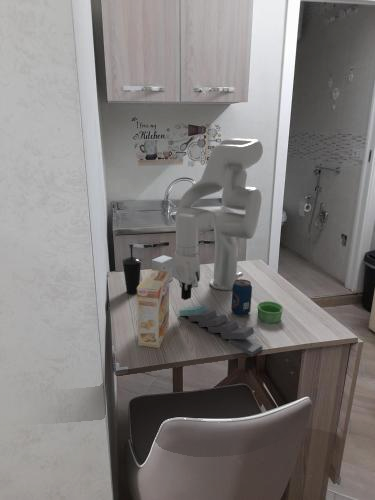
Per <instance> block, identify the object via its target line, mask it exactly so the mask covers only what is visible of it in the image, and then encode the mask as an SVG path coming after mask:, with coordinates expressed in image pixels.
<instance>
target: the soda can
mask: <svg viewBox="0 0 375 500" xmlns="http://www.w3.org/2000/svg"><path fill="white" fill-rule="evenodd" d="M252 291H253V286H252V284H251V281H249V280H247V279H242V278H241V279H239V278H238V279H237V280H236V281H235V282H234V284H233V288H232V290H231V303H230V304H231V305H230V306H231V307H230V309H231V312H232V314H233V315H235V316H236V317H247V316H248V315H249V314H250V313H251V309H252V308H251V307H252V297H253V296H252V295H253V292H252Z"/></svg>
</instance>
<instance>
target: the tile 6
mask: <svg viewBox="0 0 375 500" xmlns="http://www.w3.org/2000/svg"><path fill="white" fill-rule="evenodd" d="M228 345H230V346H232V347H234V348H236V349H237V350H240V351H241V352H243V353H245V354H247V355H249V356H250V357H252V356H255V355H256V354H258V353H260V352H261V351H263V345H262V344H260V343H258V342H257V341H254V340H253V339H251V338H250V337H248V338H246V339H228Z"/></svg>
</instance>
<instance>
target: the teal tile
mask: <svg viewBox="0 0 375 500" xmlns="http://www.w3.org/2000/svg"><path fill="white" fill-rule="evenodd" d="M205 311H208V309H207V306H206V305H205V304H204V305H191V306H190V305H189V306H187V307H185V308H182V309H179V310H178V312H179V316H180V317H188V316H192V315H198V314H201V313H203V312H205Z"/></svg>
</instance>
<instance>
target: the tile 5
mask: <svg viewBox="0 0 375 500" xmlns="http://www.w3.org/2000/svg"><path fill="white" fill-rule="evenodd" d="M254 334H255V330H254V327H253V326H243V327H242V326H239V328H237V329H235V330H233V331H231V332H229V333H220V335H221V339H223V340H229V339H246V338H250V337H252V335H254Z"/></svg>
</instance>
